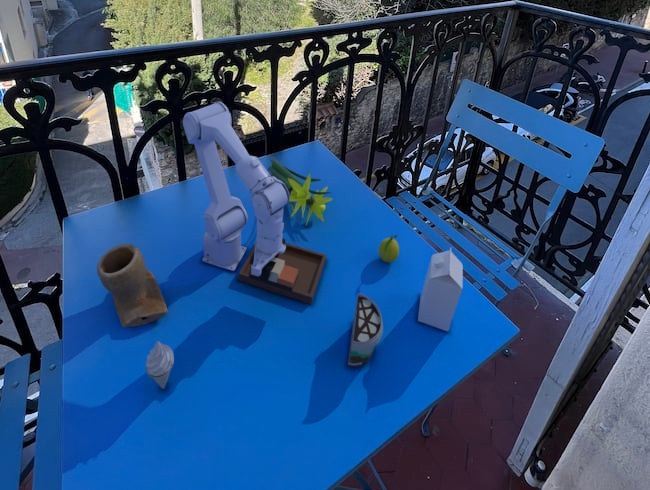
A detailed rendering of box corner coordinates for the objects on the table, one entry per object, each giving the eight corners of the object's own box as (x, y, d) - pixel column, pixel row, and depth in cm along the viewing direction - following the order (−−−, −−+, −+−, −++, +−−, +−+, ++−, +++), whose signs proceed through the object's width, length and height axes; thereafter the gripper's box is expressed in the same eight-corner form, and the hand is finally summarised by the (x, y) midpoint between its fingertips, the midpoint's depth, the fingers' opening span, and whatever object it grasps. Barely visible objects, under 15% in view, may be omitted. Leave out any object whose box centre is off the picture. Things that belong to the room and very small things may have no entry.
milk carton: (449, 306, 101) (466, 251, 93) (448, 332, 95) (466, 276, 87) (420, 296, 103) (435, 242, 95) (417, 321, 97) (433, 265, 89)
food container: (376, 381, 84) (383, 352, 80) (347, 373, 85) (352, 344, 81) (379, 325, 95) (385, 297, 91) (353, 319, 96) (358, 290, 92)
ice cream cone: (161, 408, 77) (154, 360, 71) (144, 391, 79) (136, 343, 73) (182, 384, 81) (177, 336, 75) (165, 368, 83) (159, 321, 77)
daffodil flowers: (301, 169, 148) (354, 210, 118) (271, 198, 144) (319, 248, 114) (275, 137, 141) (326, 172, 111) (243, 167, 137) (287, 211, 107)
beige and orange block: (248, 277, 96) (248, 264, 95) (256, 263, 100) (256, 250, 98) (291, 292, 94) (292, 279, 92) (297, 277, 98) (299, 264, 96)
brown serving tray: (238, 280, 103) (238, 273, 102) (259, 241, 115) (260, 235, 114) (311, 304, 99) (312, 297, 98) (325, 261, 111) (326, 254, 110)
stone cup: (101, 290, 98) (91, 246, 92) (152, 269, 104) (146, 226, 98) (113, 345, 87) (103, 298, 80) (169, 317, 93) (164, 272, 87)
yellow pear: (381, 272, 109) (386, 245, 105) (371, 254, 114) (376, 228, 110) (402, 266, 111) (409, 240, 107) (392, 250, 116) (398, 224, 112)
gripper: (273, 259, 84) (271, 303, 89) (296, 212, 96) (293, 253, 102) (242, 249, 85) (242, 293, 91) (269, 204, 98) (267, 245, 104)
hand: (267, 271), depth 97 cm, fingers closed on beige and orange block, 4 cm apart
